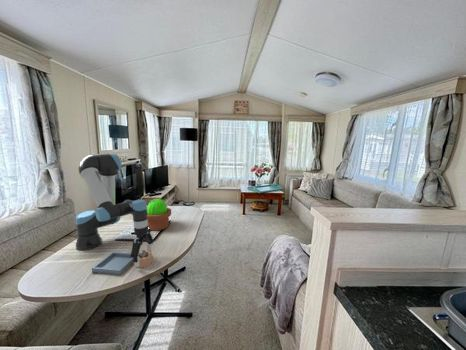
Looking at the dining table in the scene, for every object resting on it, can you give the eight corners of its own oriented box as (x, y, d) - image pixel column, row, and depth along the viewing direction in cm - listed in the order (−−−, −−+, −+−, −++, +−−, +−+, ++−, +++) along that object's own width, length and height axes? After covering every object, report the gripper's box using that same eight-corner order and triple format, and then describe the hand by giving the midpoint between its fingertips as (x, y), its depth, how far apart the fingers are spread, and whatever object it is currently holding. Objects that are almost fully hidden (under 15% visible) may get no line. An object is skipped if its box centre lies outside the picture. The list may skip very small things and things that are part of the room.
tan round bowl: (140, 257, 130) (140, 250, 130) (155, 258, 129) (154, 251, 128) (131, 266, 121) (130, 258, 120) (146, 268, 120) (146, 260, 119)
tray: (113, 256, 133) (112, 251, 132) (138, 258, 131) (137, 253, 130) (92, 272, 116) (91, 268, 116) (120, 275, 114) (119, 270, 113)
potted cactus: (175, 222, 186) (174, 195, 182) (163, 233, 165) (162, 203, 160) (153, 220, 190) (151, 194, 185) (138, 230, 168) (136, 201, 164)
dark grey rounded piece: (140, 257, 131) (139, 247, 129) (155, 259, 130) (154, 248, 128) (131, 267, 121) (130, 255, 120) (147, 269, 120) (146, 257, 118)
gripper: (146, 218, 134) (148, 248, 137) (121, 235, 109) (124, 272, 113) (157, 218, 133) (159, 249, 136) (134, 236, 108) (137, 273, 112)
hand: (143, 259), depth 125 cm, fingers open, 13 cm apart
